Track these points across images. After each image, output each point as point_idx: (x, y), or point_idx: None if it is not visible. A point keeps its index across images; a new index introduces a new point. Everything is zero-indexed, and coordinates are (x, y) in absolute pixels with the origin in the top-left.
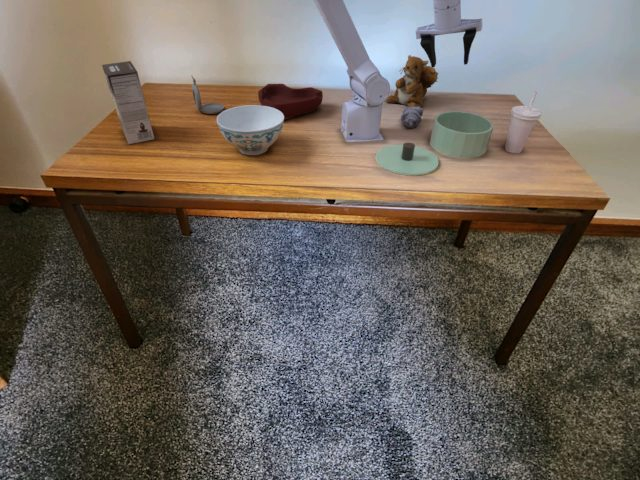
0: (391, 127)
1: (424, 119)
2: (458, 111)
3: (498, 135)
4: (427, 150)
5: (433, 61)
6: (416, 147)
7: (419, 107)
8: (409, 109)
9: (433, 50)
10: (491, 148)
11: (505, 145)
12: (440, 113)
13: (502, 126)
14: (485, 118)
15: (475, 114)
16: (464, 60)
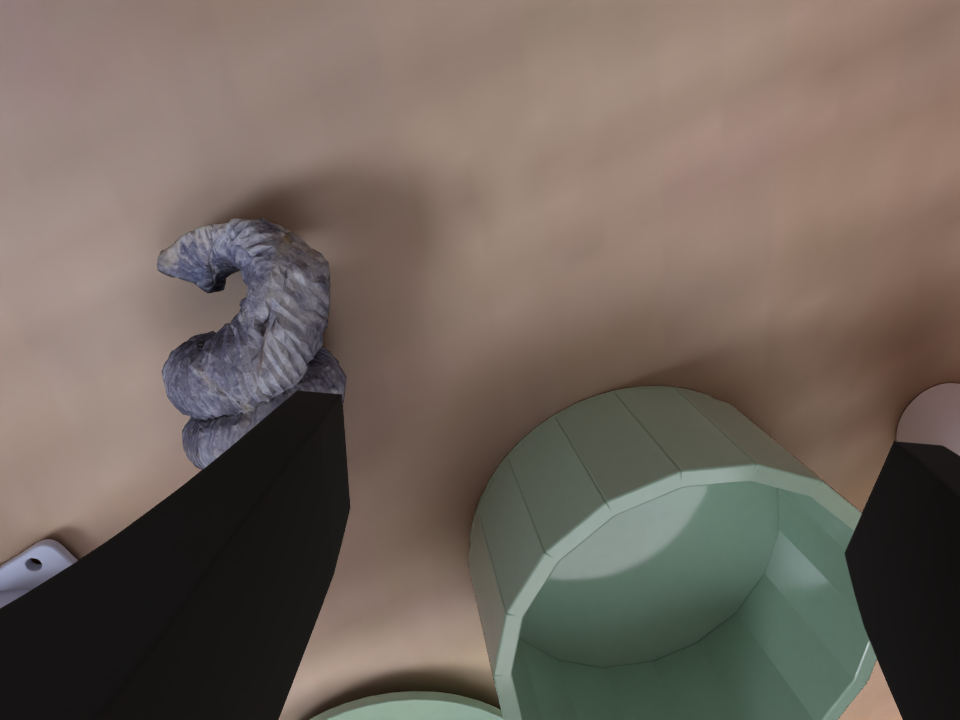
0: (152, 456)
1: (343, 182)
2: (658, 484)
3: (890, 245)
4: (483, 715)
5: (317, 608)
6: (418, 713)
7: (292, 333)
8: (220, 410)
9: (231, 691)
10: (822, 460)
11: (908, 440)
12: (523, 589)
13: (947, 51)
14: (854, 520)
15: (788, 481)
16: (880, 637)
